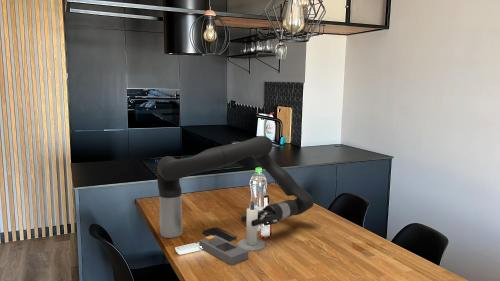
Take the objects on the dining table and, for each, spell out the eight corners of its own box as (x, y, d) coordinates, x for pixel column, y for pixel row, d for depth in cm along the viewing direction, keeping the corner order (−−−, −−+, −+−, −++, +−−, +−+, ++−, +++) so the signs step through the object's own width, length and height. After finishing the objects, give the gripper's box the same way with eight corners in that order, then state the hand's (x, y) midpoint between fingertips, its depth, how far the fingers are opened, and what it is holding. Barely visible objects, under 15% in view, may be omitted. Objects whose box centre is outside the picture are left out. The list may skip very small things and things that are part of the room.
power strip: (199, 247, 156) (199, 238, 155) (215, 241, 161) (215, 233, 161) (231, 265, 141) (231, 255, 141) (248, 258, 147) (248, 249, 146)
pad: (232, 244, 159) (232, 243, 159) (252, 237, 166) (252, 235, 166) (250, 253, 151) (250, 252, 151) (271, 245, 158) (271, 244, 158)
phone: (215, 226, 175) (237, 237, 164) (215, 229, 176) (237, 239, 165) (201, 231, 170) (222, 242, 159) (201, 233, 170) (222, 244, 159)
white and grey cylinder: (243, 243, 158) (244, 201, 156) (251, 240, 161) (252, 199, 159) (251, 246, 155) (252, 204, 153) (259, 243, 158) (260, 202, 156)
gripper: (265, 199, 171) (234, 207, 160) (289, 207, 160) (259, 217, 149) (264, 216, 172) (234, 225, 161) (289, 225, 162) (259, 236, 150)
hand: (247, 221), depth 155 cm, fingers open, 5 cm apart
